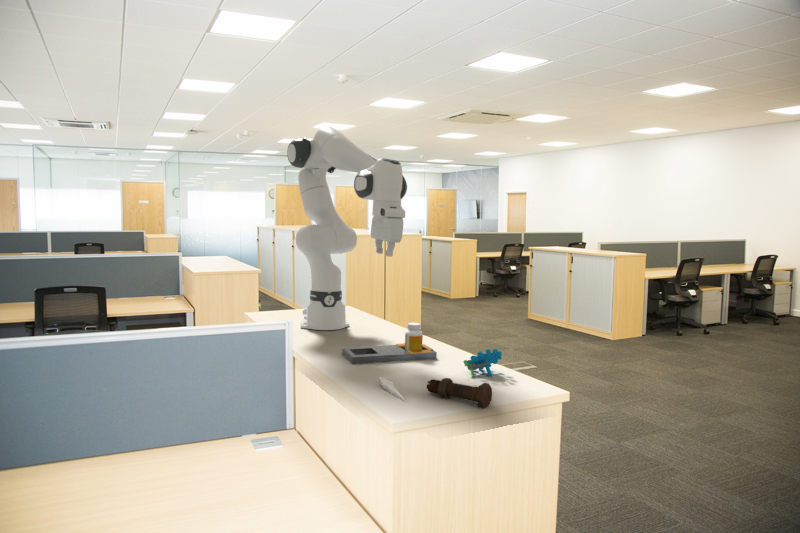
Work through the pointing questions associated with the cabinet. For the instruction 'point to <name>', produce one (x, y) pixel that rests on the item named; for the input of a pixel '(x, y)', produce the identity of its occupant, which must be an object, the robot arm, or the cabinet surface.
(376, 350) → the gray and orange holder
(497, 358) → the blue lobed piece
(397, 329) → the cabinet surface
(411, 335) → the supplement bottle
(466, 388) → the bolt
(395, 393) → the stone spearhead
